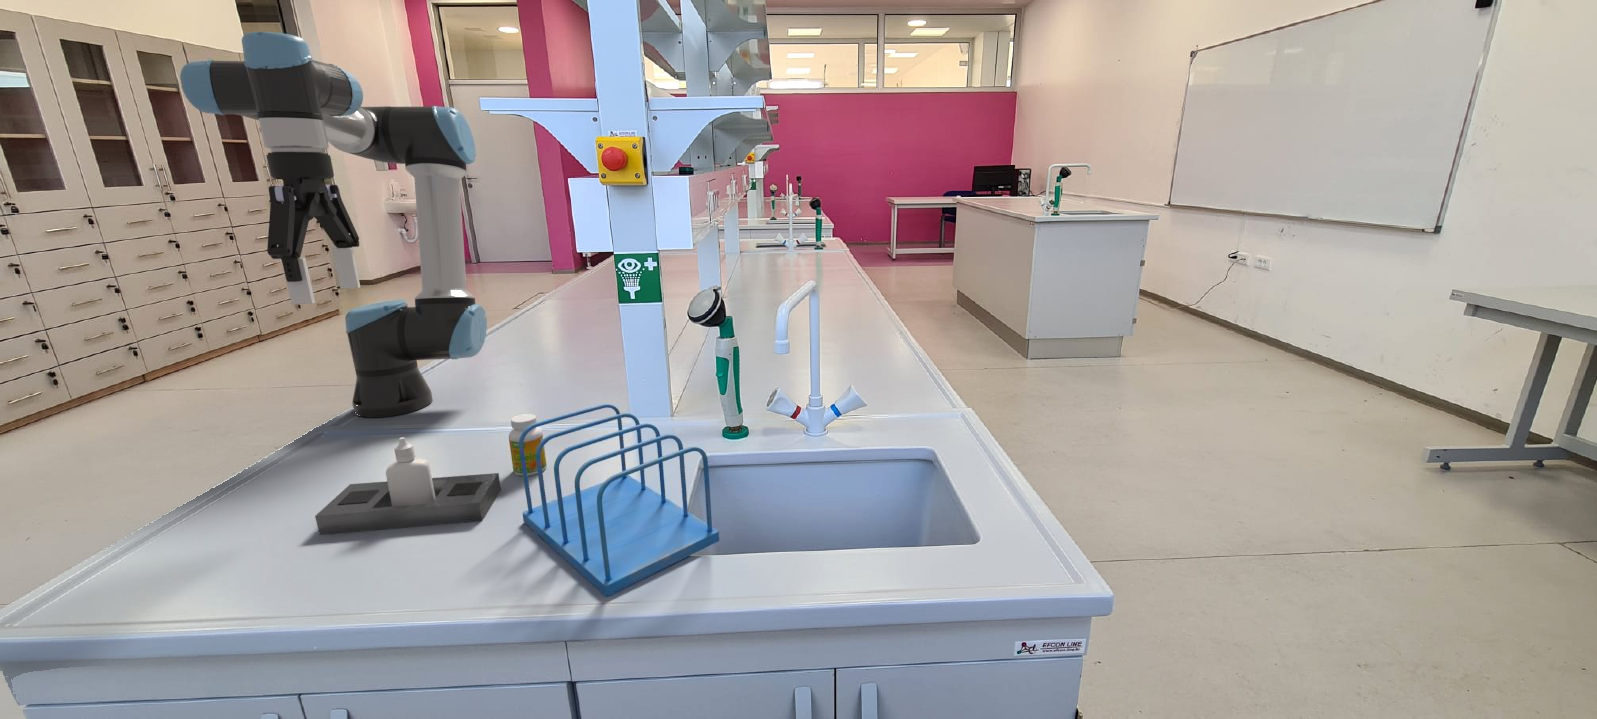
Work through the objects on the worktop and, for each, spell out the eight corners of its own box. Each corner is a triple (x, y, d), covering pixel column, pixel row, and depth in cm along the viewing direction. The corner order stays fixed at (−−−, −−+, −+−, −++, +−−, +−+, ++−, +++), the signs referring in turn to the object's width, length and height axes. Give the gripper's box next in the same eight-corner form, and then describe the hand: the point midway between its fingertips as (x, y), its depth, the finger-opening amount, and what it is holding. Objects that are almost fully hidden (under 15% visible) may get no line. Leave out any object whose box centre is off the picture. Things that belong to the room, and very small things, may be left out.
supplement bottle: (511, 478, 109) (503, 425, 107) (515, 465, 114) (508, 413, 112) (545, 474, 111) (538, 421, 108) (548, 461, 116) (541, 410, 113)
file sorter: (522, 523, 96) (509, 426, 91) (627, 484, 107) (619, 397, 103) (606, 598, 78) (594, 483, 74) (720, 542, 90) (715, 440, 86)
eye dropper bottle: (408, 503, 102) (394, 431, 98) (442, 504, 101) (429, 433, 98) (388, 517, 97) (373, 443, 94) (423, 518, 97) (409, 444, 94)
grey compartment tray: (354, 501, 102) (350, 483, 101) (501, 489, 106) (498, 472, 105) (319, 534, 93) (314, 515, 92) (482, 520, 96) (479, 502, 95)
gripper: (316, 154, 105) (343, 283, 111) (208, 147, 82) (249, 312, 88) (366, 153, 107) (390, 281, 112) (274, 147, 83) (310, 310, 89)
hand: (328, 295), depth 100 cm, fingers open, 13 cm apart
